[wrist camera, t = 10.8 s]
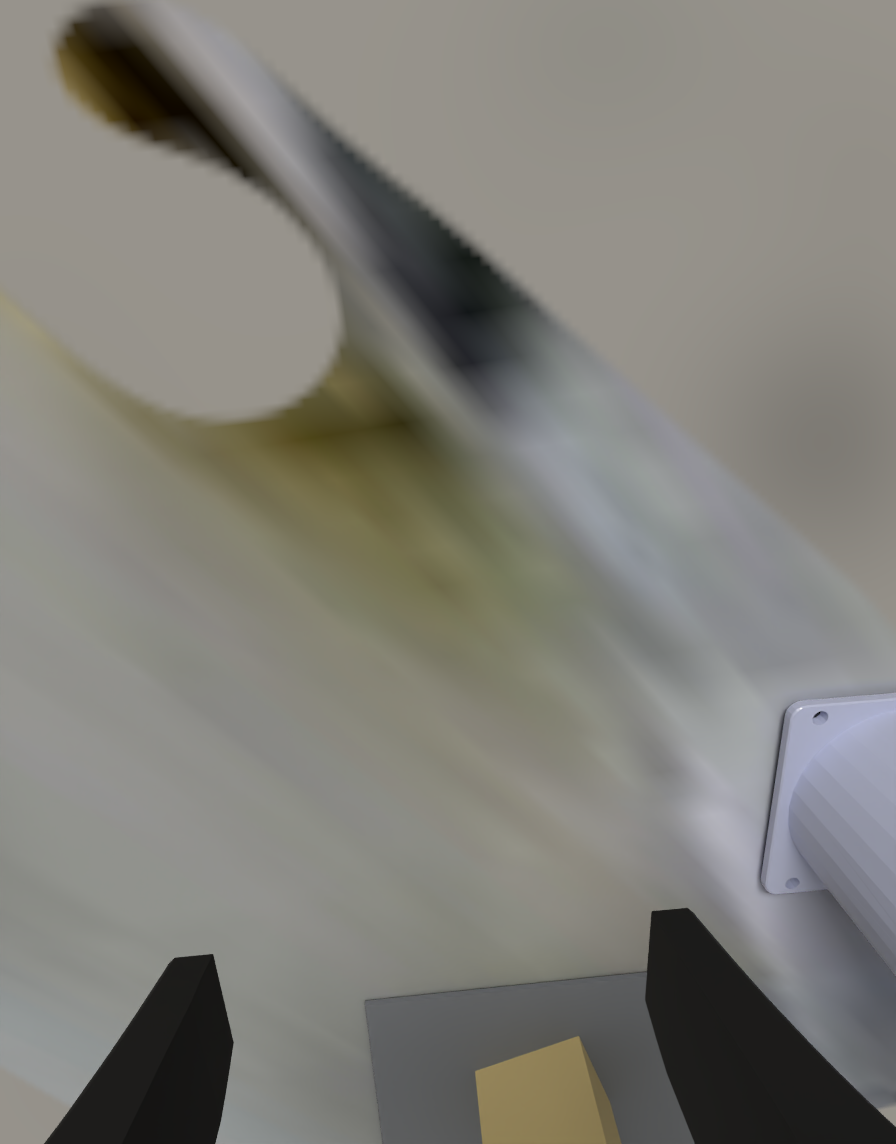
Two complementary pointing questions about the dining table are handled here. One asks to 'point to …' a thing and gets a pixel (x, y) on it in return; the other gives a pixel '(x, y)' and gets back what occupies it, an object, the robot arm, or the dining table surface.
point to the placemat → (516, 1055)
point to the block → (545, 1099)
